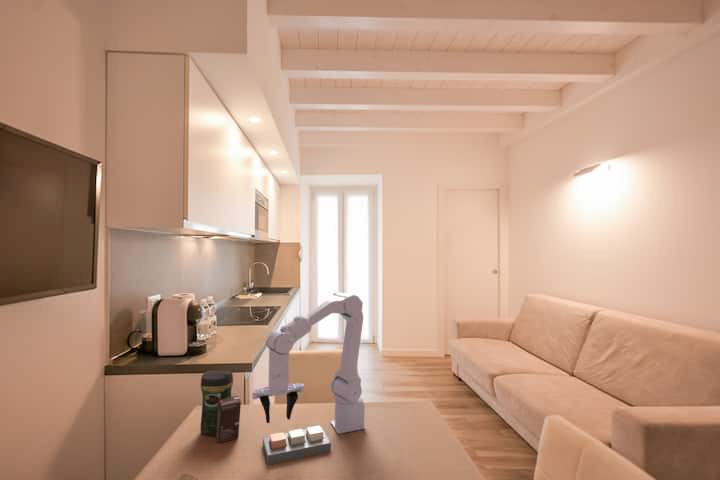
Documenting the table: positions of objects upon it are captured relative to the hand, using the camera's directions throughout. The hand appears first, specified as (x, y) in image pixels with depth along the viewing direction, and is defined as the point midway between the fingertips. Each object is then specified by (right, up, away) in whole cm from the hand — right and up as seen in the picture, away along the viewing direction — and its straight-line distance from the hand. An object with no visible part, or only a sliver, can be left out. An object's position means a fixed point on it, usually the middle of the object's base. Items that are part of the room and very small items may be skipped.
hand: (278, 419), depth 107 cm
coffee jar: (-22, -9, +11) cm, 26 cm away
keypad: (+5, -10, +2) cm, 11 cm away
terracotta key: (0, -8, 0) cm, 8 cm away
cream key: (+10, -8, +4) cm, 14 cm away
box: (-17, -9, +7) cm, 21 cm away
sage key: (+5, -8, +2) cm, 10 cm away
